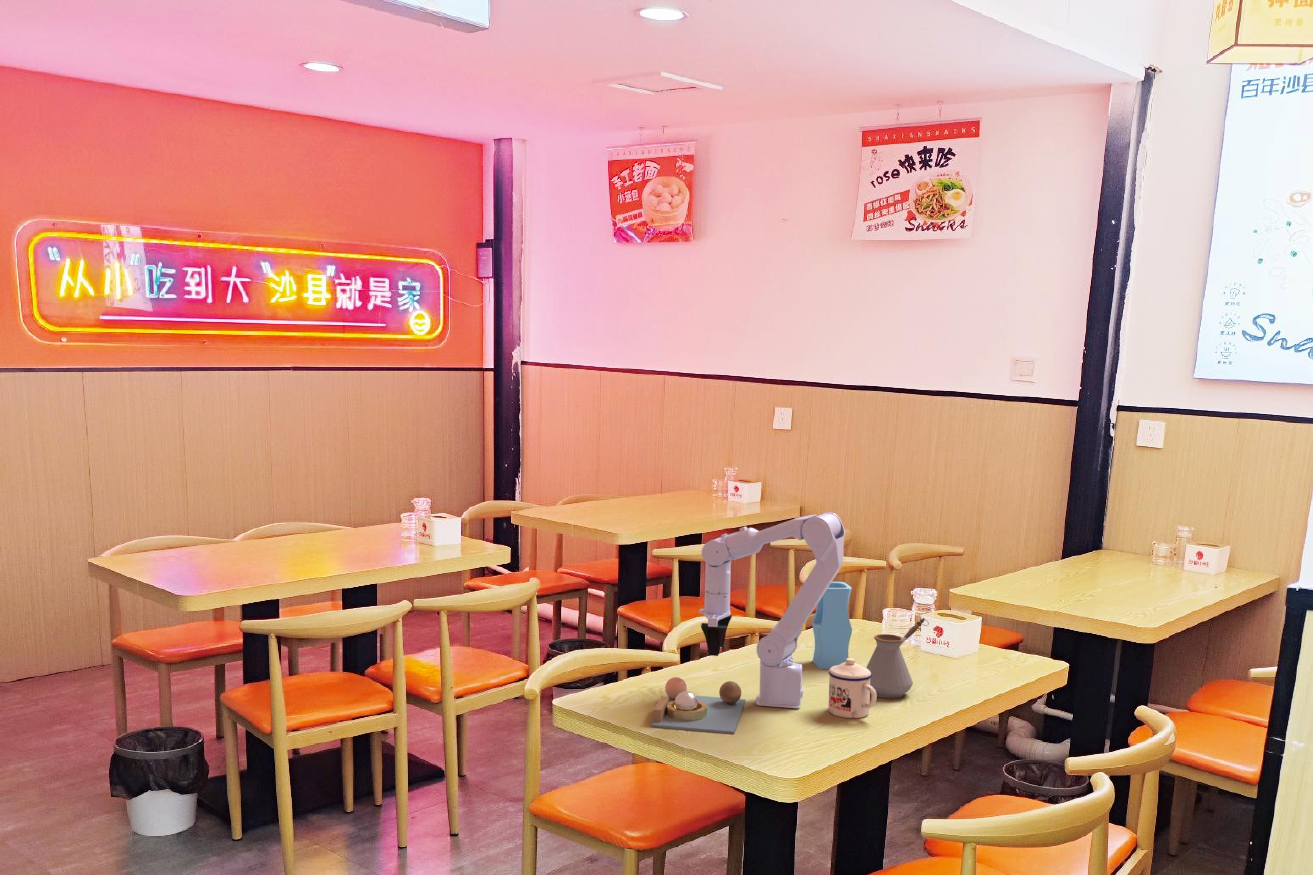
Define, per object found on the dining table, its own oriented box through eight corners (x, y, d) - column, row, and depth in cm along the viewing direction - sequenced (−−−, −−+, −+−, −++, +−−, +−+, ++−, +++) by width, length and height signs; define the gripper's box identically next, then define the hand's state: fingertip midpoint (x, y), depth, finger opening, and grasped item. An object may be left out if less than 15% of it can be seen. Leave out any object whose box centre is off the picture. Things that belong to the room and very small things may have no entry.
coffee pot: (894, 704, 237) (896, 637, 236) (850, 692, 245) (853, 627, 244) (944, 684, 252) (947, 622, 251) (902, 674, 260) (904, 613, 259)
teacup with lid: (818, 710, 232) (820, 657, 231) (848, 702, 237) (849, 651, 236) (859, 726, 222) (861, 670, 221) (889, 718, 228) (891, 664, 227)
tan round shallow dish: (712, 711, 228) (712, 702, 228) (697, 723, 221) (697, 714, 220) (676, 705, 232) (676, 697, 232) (660, 716, 224) (660, 708, 224)
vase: (811, 659, 271) (813, 581, 269) (841, 659, 271) (844, 581, 270) (819, 669, 263) (821, 588, 261) (850, 668, 264) (853, 588, 262)
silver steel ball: (696, 718, 226) (700, 695, 228) (693, 714, 221) (698, 691, 223) (674, 713, 227) (678, 691, 229) (671, 710, 222) (675, 687, 224)
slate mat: (745, 701, 237) (745, 688, 236) (734, 733, 216) (734, 719, 216) (669, 695, 240) (669, 682, 240) (651, 726, 219) (651, 712, 219)
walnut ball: (742, 700, 236) (742, 679, 235) (739, 707, 231) (740, 685, 231) (720, 698, 237) (721, 677, 236) (717, 705, 232) (718, 684, 231)
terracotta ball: (688, 696, 238) (688, 675, 238) (684, 703, 233) (685, 681, 233) (666, 694, 239) (667, 673, 238) (663, 701, 234) (663, 679, 234)
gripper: (704, 583, 250) (703, 641, 251) (694, 597, 235) (693, 658, 236) (734, 585, 248) (733, 643, 249) (726, 599, 234) (725, 660, 235)
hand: (716, 650), depth 243 cm, fingers open, 7 cm apart
